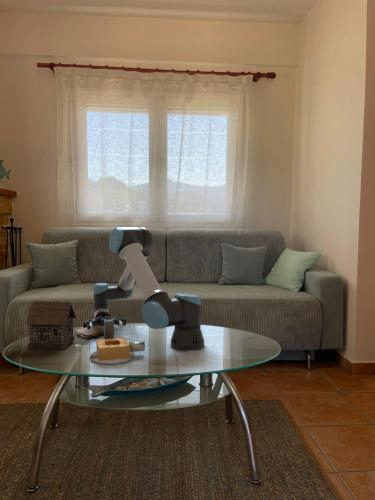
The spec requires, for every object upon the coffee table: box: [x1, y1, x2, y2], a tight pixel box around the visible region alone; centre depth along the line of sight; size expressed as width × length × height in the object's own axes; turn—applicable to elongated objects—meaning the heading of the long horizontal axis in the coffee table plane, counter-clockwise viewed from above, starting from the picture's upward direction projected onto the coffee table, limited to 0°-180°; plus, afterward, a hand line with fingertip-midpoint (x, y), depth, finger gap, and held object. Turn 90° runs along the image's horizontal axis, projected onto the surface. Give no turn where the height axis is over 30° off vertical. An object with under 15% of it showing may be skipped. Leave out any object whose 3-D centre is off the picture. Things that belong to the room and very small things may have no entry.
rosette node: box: [89, 337, 146, 366], centre depth 173 cm, size 22×18×6 cm
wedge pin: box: [103, 319, 115, 339], centre depth 186 cm, size 4×4×12 cm
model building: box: [25, 300, 77, 350], centre depth 189 cm, size 18×14×20 cm
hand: (106, 327), depth 193 cm, fingers open, 13 cm apart
